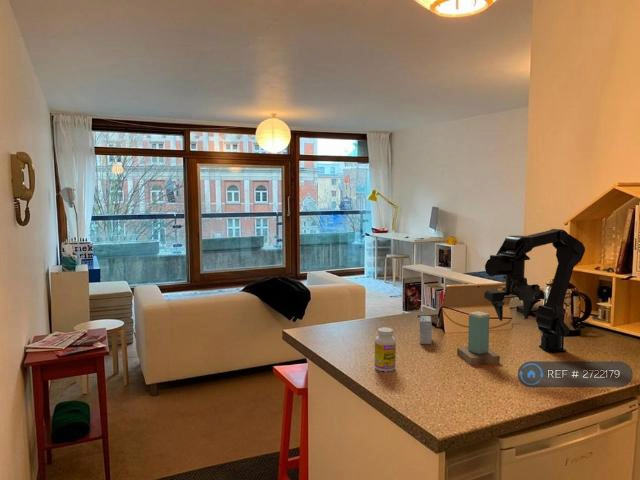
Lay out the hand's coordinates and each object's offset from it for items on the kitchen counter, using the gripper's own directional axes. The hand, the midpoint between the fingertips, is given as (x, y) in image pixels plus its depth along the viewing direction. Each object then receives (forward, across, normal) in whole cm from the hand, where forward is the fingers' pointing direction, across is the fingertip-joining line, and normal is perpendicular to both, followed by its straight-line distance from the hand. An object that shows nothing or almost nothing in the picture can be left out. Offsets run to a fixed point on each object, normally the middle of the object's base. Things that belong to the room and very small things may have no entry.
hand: (513, 319), depth 157 cm
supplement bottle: (+13, -45, -1) cm, 47 cm away
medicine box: (+13, -22, +22) cm, 34 cm away
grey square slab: (+14, -12, +1) cm, 18 cm away
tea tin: (+10, -12, +1) cm, 16 cm away
